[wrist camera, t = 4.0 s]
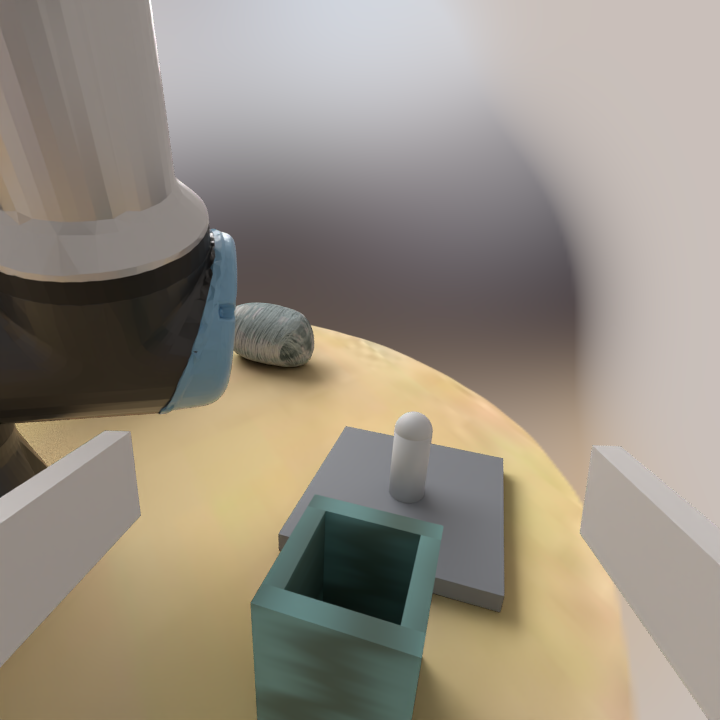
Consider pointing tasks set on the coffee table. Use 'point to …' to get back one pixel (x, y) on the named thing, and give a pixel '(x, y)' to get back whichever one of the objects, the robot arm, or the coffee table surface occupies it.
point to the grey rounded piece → (272, 335)
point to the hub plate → (424, 500)
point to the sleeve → (344, 615)
